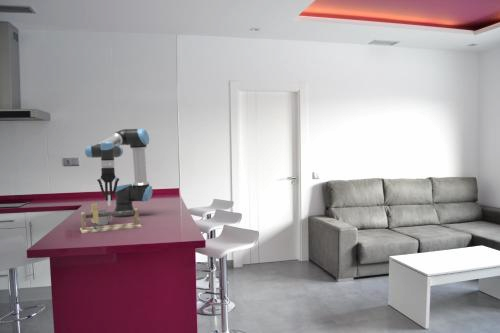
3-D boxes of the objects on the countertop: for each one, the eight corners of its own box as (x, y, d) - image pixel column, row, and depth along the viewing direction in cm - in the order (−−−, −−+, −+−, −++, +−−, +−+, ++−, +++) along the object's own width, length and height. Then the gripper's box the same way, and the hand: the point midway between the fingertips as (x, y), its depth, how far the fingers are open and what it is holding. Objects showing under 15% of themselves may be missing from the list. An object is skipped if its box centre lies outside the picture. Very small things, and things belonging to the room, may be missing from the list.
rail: (82, 233, 222) (81, 214, 222) (80, 230, 233) (79, 211, 232) (141, 227, 239) (141, 209, 238) (136, 224, 249) (136, 207, 249)
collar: (93, 223, 227) (92, 204, 226) (91, 221, 234) (90, 203, 233) (98, 222, 228) (98, 204, 228) (96, 220, 235) (96, 202, 235)
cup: (96, 223, 254) (96, 210, 253) (112, 222, 257) (112, 209, 256) (95, 225, 247) (95, 211, 246) (112, 224, 250) (112, 211, 249)
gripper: (97, 168, 228) (98, 207, 229) (120, 167, 234) (121, 205, 235) (95, 167, 234) (96, 205, 235) (117, 166, 240) (119, 204, 242)
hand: (109, 205), depth 235 cm, fingers closed
